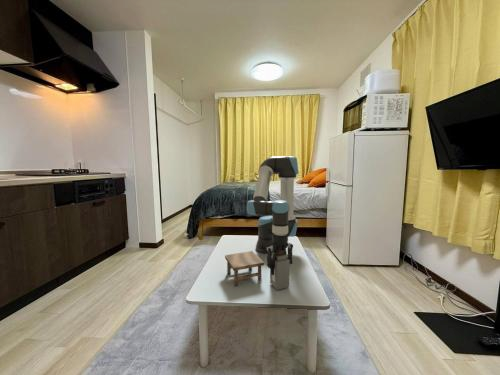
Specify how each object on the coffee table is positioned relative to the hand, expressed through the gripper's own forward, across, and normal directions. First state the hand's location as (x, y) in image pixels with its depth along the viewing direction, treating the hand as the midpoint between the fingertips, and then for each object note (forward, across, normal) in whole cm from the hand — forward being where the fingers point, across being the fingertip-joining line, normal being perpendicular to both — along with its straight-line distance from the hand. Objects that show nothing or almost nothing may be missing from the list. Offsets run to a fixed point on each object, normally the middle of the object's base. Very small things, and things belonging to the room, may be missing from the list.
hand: (279, 279), depth 107 cm
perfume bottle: (+3, 0, 0) cm, 3 cm away
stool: (+4, +13, -15) cm, 20 cm away
